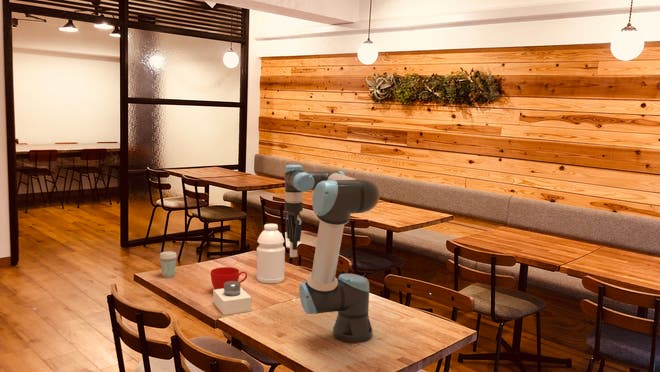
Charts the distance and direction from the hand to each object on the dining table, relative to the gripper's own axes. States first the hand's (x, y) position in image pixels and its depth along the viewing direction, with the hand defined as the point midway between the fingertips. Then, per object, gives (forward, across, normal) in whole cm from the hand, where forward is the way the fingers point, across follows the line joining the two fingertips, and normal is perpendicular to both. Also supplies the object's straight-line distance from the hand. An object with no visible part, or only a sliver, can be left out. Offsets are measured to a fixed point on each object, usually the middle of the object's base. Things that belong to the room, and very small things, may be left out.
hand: (293, 256), depth 245 cm
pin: (+22, +14, +22) cm, 35 cm away
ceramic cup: (+23, +34, +16) cm, 44 cm away
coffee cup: (+22, +69, +36) cm, 81 cm away
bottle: (+22, +42, -8) cm, 48 cm away
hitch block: (+23, +14, +22) cm, 35 cm away
